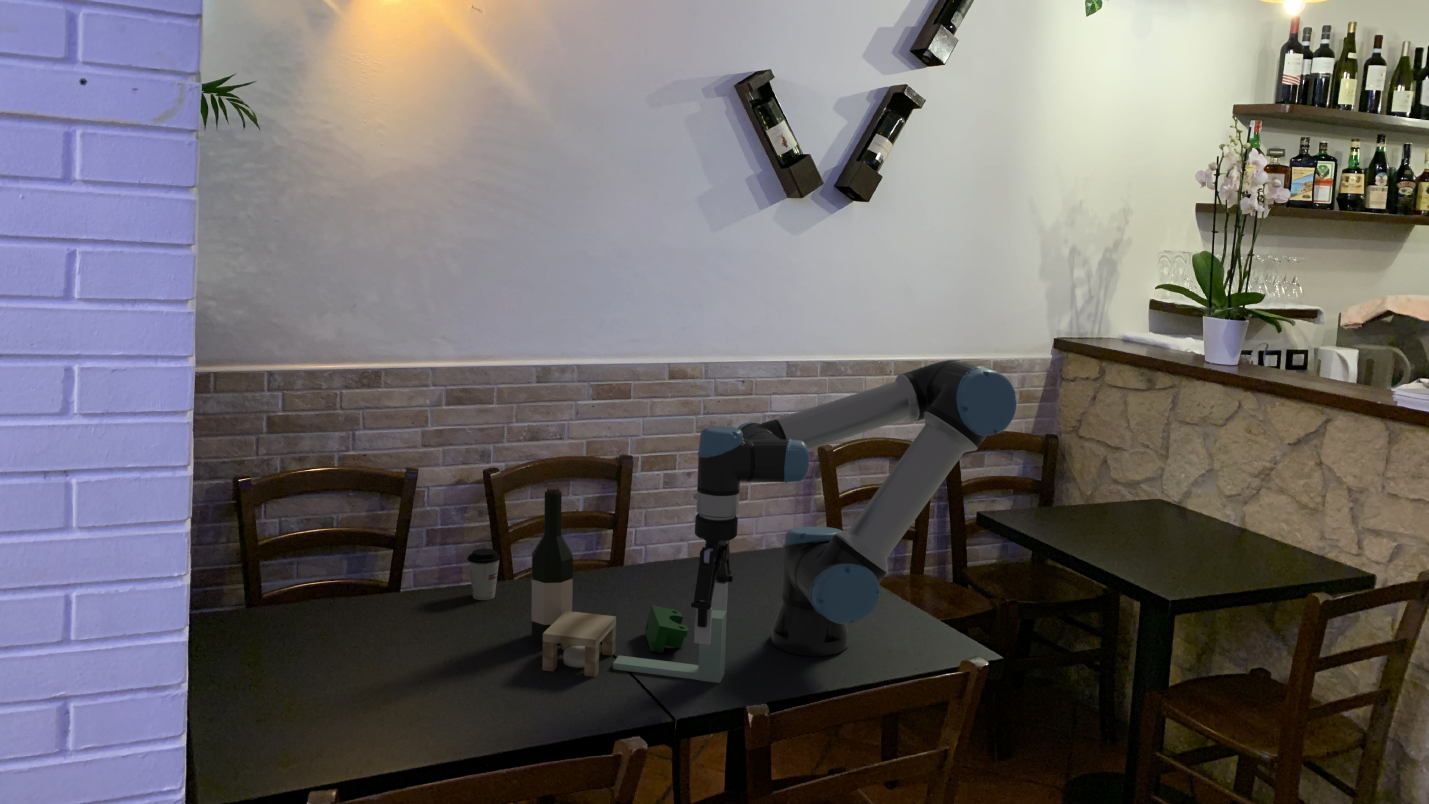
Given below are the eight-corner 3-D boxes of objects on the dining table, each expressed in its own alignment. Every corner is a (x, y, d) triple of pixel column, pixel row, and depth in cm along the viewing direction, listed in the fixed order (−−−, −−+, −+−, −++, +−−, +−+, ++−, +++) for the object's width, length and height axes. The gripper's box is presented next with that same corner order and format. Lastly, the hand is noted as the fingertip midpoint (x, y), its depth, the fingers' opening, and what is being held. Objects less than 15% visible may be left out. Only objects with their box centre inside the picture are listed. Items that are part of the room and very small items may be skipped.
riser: (615, 651, 203) (616, 616, 202) (595, 676, 192) (595, 639, 191) (565, 645, 205) (566, 610, 204) (542, 670, 194) (542, 633, 193)
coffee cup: (462, 600, 228) (461, 555, 226) (474, 589, 235) (474, 545, 233) (493, 603, 227) (493, 557, 225) (505, 592, 233) (505, 548, 232)
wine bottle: (564, 648, 204) (566, 495, 199) (523, 643, 206) (524, 491, 201) (578, 632, 212) (581, 485, 207) (539, 627, 214) (540, 481, 209)
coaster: (600, 657, 201) (600, 647, 201) (589, 670, 195) (590, 660, 195) (570, 654, 202) (570, 644, 202) (558, 666, 196) (558, 656, 196)
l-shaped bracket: (724, 674, 195) (726, 611, 193) (719, 682, 191) (722, 618, 189) (619, 661, 199) (620, 599, 197) (612, 669, 195) (613, 606, 193)
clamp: (675, 671, 206) (690, 638, 202) (645, 666, 205) (659, 632, 200) (673, 627, 216) (687, 595, 212) (644, 621, 215) (658, 588, 210)
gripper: (711, 496, 201) (705, 604, 205) (678, 530, 177) (672, 652, 181) (750, 500, 200) (744, 608, 203) (723, 535, 176) (716, 658, 179)
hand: (710, 629), depth 192 cm, fingers open, 13 cm apart
